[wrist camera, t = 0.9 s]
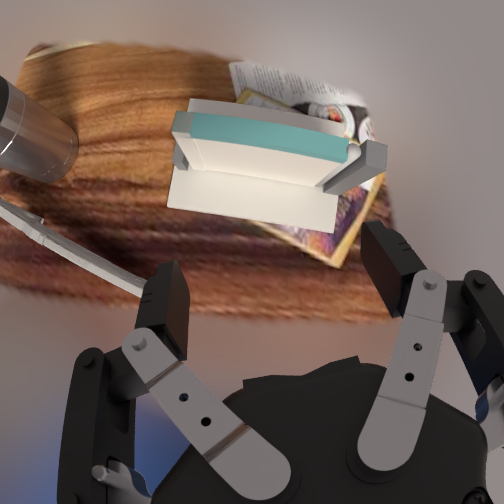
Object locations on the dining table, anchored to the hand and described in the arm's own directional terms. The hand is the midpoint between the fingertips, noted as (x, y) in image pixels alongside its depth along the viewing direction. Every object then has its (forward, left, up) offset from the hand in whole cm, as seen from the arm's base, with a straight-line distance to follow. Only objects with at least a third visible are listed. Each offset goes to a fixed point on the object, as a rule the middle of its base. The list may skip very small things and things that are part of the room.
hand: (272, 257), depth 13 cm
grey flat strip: (-23, -3, -26) cm, 35 cm away
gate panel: (-1, +10, -25) cm, 27 cm away
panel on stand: (-1, +11, -26) cm, 28 cm away
